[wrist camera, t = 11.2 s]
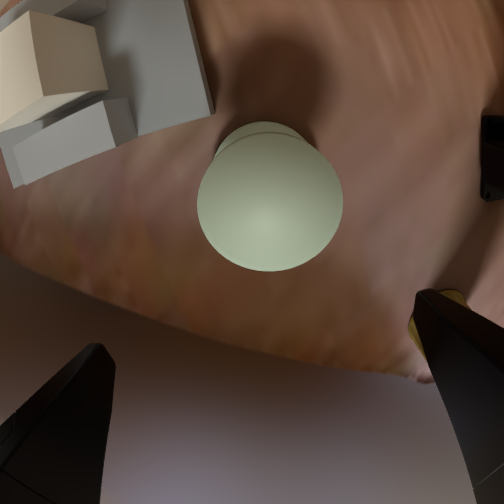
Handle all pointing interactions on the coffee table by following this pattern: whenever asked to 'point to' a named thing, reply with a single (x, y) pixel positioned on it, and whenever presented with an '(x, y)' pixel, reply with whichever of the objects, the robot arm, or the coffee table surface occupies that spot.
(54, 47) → the block
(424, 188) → the coffee table surface
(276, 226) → the spool
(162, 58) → the notch board
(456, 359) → the robot arm
